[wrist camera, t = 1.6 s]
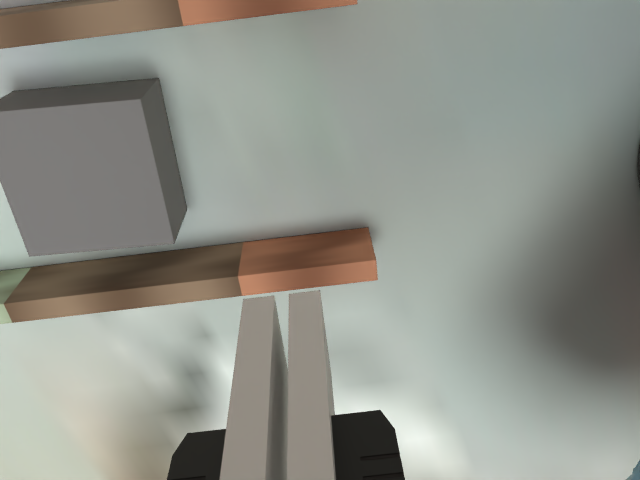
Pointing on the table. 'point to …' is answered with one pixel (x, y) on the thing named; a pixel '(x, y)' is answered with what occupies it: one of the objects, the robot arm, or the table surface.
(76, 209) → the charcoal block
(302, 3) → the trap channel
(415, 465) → the table surface
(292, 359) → the robot arm
